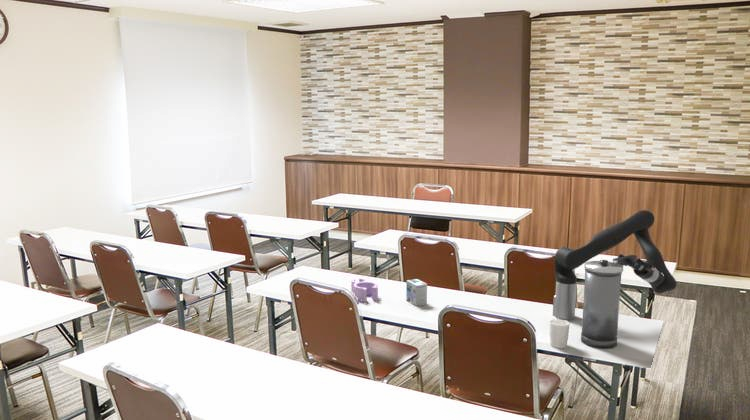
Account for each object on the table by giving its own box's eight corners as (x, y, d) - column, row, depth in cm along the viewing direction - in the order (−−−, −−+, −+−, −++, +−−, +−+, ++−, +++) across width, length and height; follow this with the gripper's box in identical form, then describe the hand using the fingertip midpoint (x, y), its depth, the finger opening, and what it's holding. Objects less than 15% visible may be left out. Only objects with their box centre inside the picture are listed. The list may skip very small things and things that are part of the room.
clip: (346, 292, 323) (345, 280, 322) (367, 289, 328) (367, 277, 327) (359, 303, 305) (359, 290, 304) (382, 300, 310) (382, 287, 308)
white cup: (546, 346, 248) (547, 323, 246) (550, 340, 255) (551, 318, 253) (566, 350, 244) (567, 327, 242) (569, 343, 251) (571, 321, 249)
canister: (573, 340, 255) (577, 267, 249) (595, 333, 262) (599, 262, 257) (602, 351, 243) (607, 275, 237) (624, 344, 250) (629, 270, 245)
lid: (576, 267, 250) (577, 259, 249) (618, 258, 264) (619, 250, 264) (607, 275, 237) (608, 267, 237) (649, 265, 252) (650, 257, 251)
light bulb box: (405, 300, 309) (405, 280, 307) (417, 298, 312) (417, 278, 310) (415, 306, 300) (415, 285, 298) (427, 304, 302) (427, 283, 301)
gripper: (634, 260, 271) (616, 246, 262) (664, 267, 259) (646, 253, 250) (628, 275, 270) (610, 262, 261) (658, 283, 258) (639, 269, 249)
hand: (628, 257), depth 256 cm, fingers open, 8 cm apart
